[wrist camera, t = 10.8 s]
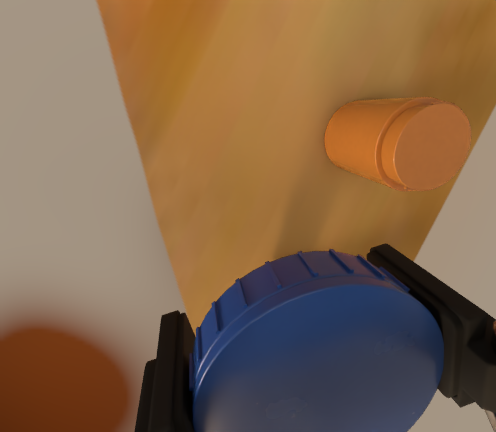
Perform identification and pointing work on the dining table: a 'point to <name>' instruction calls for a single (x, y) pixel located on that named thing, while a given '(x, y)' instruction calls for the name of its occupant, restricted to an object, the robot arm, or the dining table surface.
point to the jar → (400, 141)
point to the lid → (315, 350)
